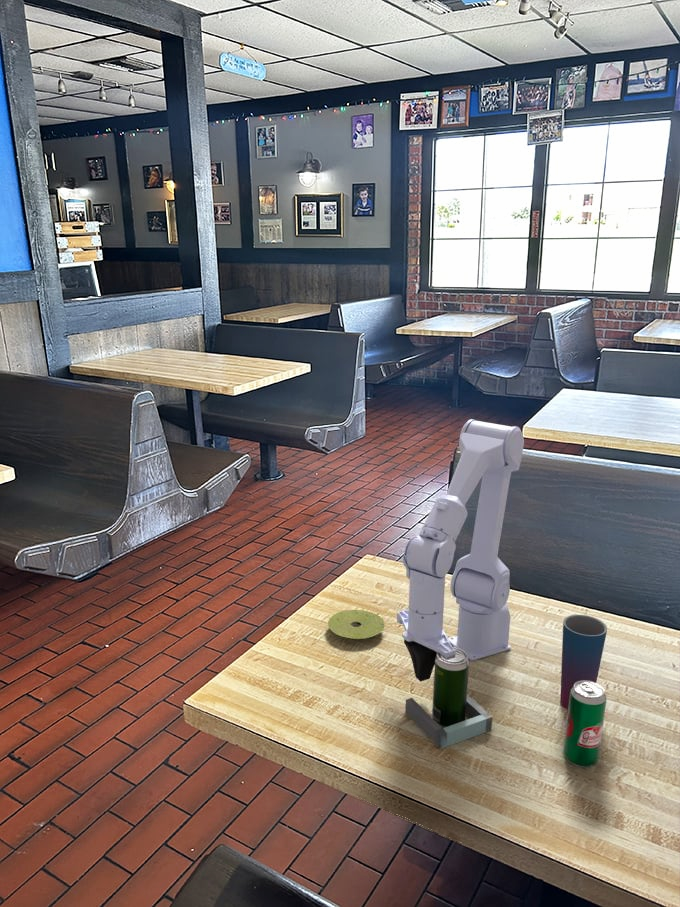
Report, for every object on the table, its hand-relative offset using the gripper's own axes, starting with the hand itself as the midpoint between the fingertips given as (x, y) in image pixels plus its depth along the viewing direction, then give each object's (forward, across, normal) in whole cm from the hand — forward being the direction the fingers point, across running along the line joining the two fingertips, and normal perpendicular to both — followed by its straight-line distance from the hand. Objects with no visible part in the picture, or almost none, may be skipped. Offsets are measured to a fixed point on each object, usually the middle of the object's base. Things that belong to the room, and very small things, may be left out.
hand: (422, 678), depth 121 cm
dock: (+3, +8, 0) cm, 8 cm away
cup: (+4, +14, +22) cm, 26 cm away
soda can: (+4, +24, +13) cm, 27 cm away
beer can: (+4, +7, 0) cm, 8 cm away
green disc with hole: (+4, -23, 0) cm, 24 cm away
